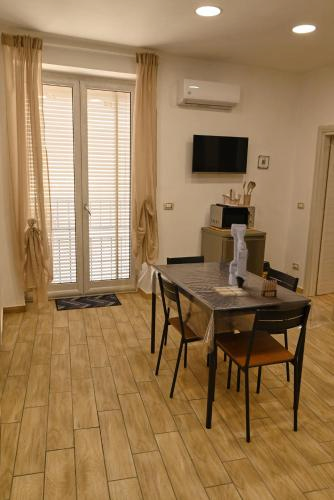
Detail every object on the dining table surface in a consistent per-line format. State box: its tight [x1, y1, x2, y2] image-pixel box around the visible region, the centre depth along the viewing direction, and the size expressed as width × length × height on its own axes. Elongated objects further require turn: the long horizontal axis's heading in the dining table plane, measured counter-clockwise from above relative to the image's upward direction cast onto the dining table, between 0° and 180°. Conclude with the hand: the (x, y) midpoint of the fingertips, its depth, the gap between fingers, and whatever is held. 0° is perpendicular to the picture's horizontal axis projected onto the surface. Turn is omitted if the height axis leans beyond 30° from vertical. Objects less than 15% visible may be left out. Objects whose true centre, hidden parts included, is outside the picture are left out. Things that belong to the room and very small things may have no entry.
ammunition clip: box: [260, 279, 278, 298], centre depth 260 cm, size 11×2×12 cm, turn 109°
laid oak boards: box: [212, 286, 238, 298], centre depth 264 cm, size 18×9×2 cm, turn 15°
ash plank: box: [226, 286, 250, 297], centre depth 266 cm, size 18×8×2 cm, turn 15°
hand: (240, 287), depth 266 cm, fingers closed
